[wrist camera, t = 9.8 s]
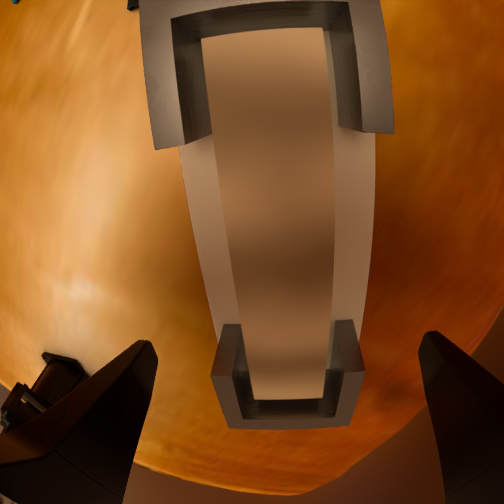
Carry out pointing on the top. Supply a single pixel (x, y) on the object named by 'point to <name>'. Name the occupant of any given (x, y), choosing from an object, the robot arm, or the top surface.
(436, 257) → the top surface
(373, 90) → the end caps
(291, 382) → the beige rectangular bar
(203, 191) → the end-cap board
